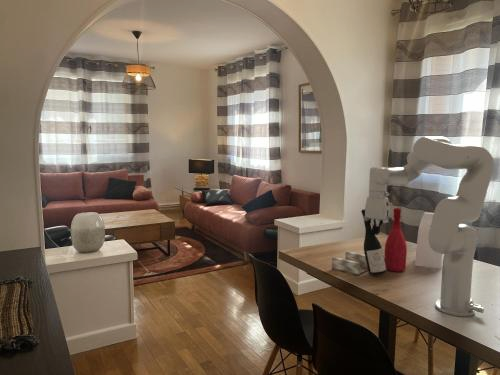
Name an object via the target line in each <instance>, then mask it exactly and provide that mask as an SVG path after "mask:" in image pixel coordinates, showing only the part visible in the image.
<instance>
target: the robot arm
mask: <svg viewBox="0 0 500 375" xmlns="http://www.w3.org/2000/svg"><path fill="white" fill-rule="evenodd" d="M406 160H407V163H406V164H405V165H403V166H402V167H401V166H399V167H397V166H396V167H384V166H373V167H371V168H370V169H369V179H368V180H369V182H368V196H367V198H366V201H365V207H364V209H365V217H366V218H369V222H370V224H371V228H372V232H373V234H375V236H377V235H379V234H380V232H381V226H382V224H387V223H389V219H390V213H391V212H390V202H389V201H390V200H389V198H388V197H389V196H390V192H388V191H387V187H388V186H394V185H395V186H397V185H398V186H399V185H406V184H408V183H410V182H412V181H414V180H415V179H418V178H419V177H420V176H421V175H422V173H423V172H424V170H426V169H428V168H429V167H431V166H436V167H439V168H440V169H441V168H442V169H445V170H466V173H465V174H464V175H463V177H462V178H461V180H460V182H459V184H458V189H457V192H456V195H455V196H449V197H445V198H442V199H441V200H440V201H439V202H438V203H437V204H436V206H435V209H434V211H433V213H434V215H433V219H432V223H431V227H430V231H429V238H428V239H429V245H430V247H431V248H432V249H433V250H434V251H435V252H437V253H440V254H442V255H443V256H442V257H443V258H442V269H441V281H440V282H441V285H440V299H437V301H436V302H435V304H434V305H435V308H436V309H437V310H439V311H440V312H442V313H444V314H447V315H450V316H454V317H463V316H464V317H465V318H466V317H471V316H473V315H475V312H477V313H481V314H483V313H484V311H485V308H484V307H482V305H481V304H477V303H475V302H474V301H473V298H471V297H472V296H471V294H472V283H473V282H472V281H473V280H472V279H473V269H474V257H475V253H476V250H477V246H478V239H479V238H478V234H477V232H476V230H475V229H474V228H473V227H472V226H470V225H468V224H470V223H474V222H476V221H477V220H479V218H480V216H481V215H482V214H481V213H482V210H483V207H484V203H485V200H486V197H487V193H488V192H487V191H488V188H489V185H490V182H491V180H492V178H493V174H494V170H495V161H494V158H493V156H492V154H491V152H490V151H488V149H487V148H485V147H484V146H480V145H478V144H472V143H471V144H470V143H467V144H466V143H463V144H453V143H452V141H451V140H450V139H448V138H447V137H445V136H423V137H420V138H418V139H417V140H416V141H415V142H414V143H413V147H412V151H410V152H409V153H408V154H407V156H406ZM464 317H463V318H464Z"/></svg>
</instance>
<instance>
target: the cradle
mask: <svg viewBox="0 0 500 375" xmlns="http://www.w3.org/2000/svg"><path fill="white" fill-rule="evenodd" d="M331 270H333V271H336V272H340V273H344V274H347V275H352V276H355V277H360V276H363V274H366V273H369V272H368V268H367V263H366V258H365V254H362V253H357V252H354V251H353V252H352V251H347V250H346V251H345V258H341V257H336V256H332V257H331Z"/></svg>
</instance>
